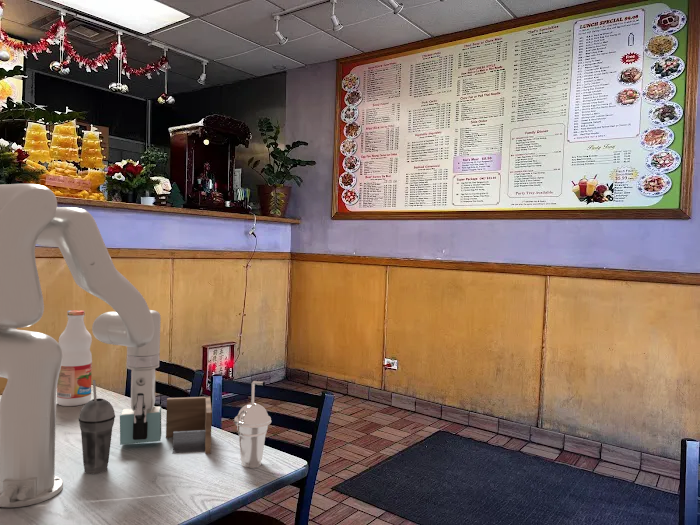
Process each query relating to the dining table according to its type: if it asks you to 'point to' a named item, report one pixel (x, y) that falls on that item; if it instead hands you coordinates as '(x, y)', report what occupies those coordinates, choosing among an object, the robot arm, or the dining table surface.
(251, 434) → the cup with straw
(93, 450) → the beverage cup
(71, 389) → the fruit juice
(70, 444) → the dining table surface
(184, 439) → the dark grey rectangular block
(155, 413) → the pale teal block
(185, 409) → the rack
